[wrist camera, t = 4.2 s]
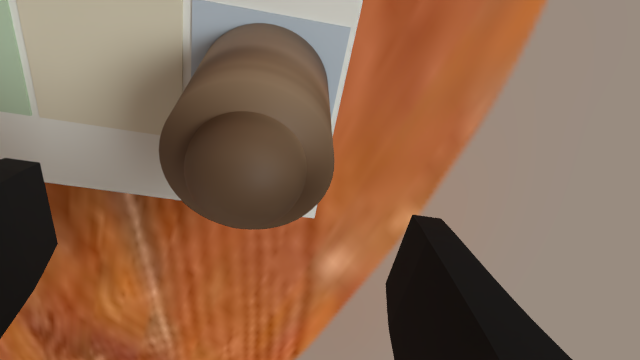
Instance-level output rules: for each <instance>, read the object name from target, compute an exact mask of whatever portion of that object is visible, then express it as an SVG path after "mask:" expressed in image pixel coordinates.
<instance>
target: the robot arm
mask: <svg viewBox="0 0 640 360" xmlns="http://www.w3.org/2000/svg"><path fill="white" fill-rule="evenodd" d="M57 244H58V243H57V238H56V234H55V229H54V225H53V220H52V215H51V211H50V206H49V202H48V197H47V193H46V188H45V183H44V179H43V174H42V170H41V165H40V163H39V162H32V161H25V160H18V159H11V158H3V159H0V338H1V337H2V335H3V334H4V333H5V331H6V330H7V328H8V327H9V325H10V324H11V323H12V321H13V320H14V318H15V317H16V315H17V314H18V312H19V311H20V310H21V308H22V307H23V305H24V304H25V302H26V301H27V299H28V298H29V296H30V295H31V293H32V292H33V290H34V289H35V287H36V285H37V283H38V281H39V279H40V278H41V276H42V274H43V272H44V270H45V268H46V266H47V264H48V262H49V260H50V258H51V256H52V254H53V252H54V250H55V248H56V246H57ZM386 297H387V313H388V325H389V333H390V338H391V344H392V349H393V354H394V360H572V359H571V358H570V357H569V356H568V355H567V354H566V353H565V352H564V351H563V350H562V349H561V348H560V347H559V346H558V345H557V344H556V343H555V342H554V341H553V340H552V339H551V338H550V337H549V336H548V335H547V334H546V333H545V332H544V331H543V330H542V329H541V328H540V327H539V326H538V325H537V324H536V323H535V322H534V321H533V320H532V319H531V318H530V317H529V316H528V315H527V314H526V312H525V311H524V310H523V309H522V308H521V307H520V306H519V305H518V304H517V303H516V302H515V301H514V300H513V299H512V297H510V295H509V294H508V293H507V292H506V291H505V290H504V289H503V288H502V287H501V285H500V284H499V283H498V282H497V281H496V280H495V279H494V278H493V277H492V275H491V274H490V273H489V272H488V271H487V270H486V269H485V267H484V266H483V265H482V264H481V263H480V262H479V261H478V259H477V258H476V257H475V256H474V255H473V254H472V253H471V251H470V250H469V249H468V248H467V247H466V246H465V245H464V243H463V242H462V241H461V240H460V239H459V238H458V237H457V235H456V234H455V233H454V232H453V231H452V230H451V229H450V228H449V227H448V226H447V224H445V222H444V221H443V220H442V219H439V218H432V217H425V216H418V215H412V217H411V220H410V222H409V225H408V227H407V230H406V232H405V235H404V238H403V240H402V243H401V245H400V248H399V251H398V253H397V256H396V258H395V261H394V263H393V266H392V269H391V271H390V274H389V276H388V279H387V282H386Z"/></svg>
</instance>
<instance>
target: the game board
mask: <svg viewBox="0 0 640 360" xmlns="http://www.w3.org/2000/svg"><path fill="white" fill-rule="evenodd" d="M362 2H363V0H0V159H3V158H11V159H18V160H25V161H32V162H39V163H40V165H41V170H42V174H43V179H44V182H47V183H55V184H62V185H69V186H77V187H84V188H92V189H99V190H107V191H114V192H122V193H129V194H137V195H144V196H152V197H159V198H167V199H174V200H181V199H180V198H179V197H178V196H177V195H176V194H175V192H174V191H173V190H172V188H171V187H170V185H169V184H168V182H167V180H166V178H165V176H164V173H163V171H162V168H161V164H160V159H159V140H160V136H161V132H162V129H163V126H164V124H165V122H166V120H167V118H168V117H169V115H170V113H171V111H172V110H173V108H174V106H175V105H176V103H177V101H178V100H179V98H180V96H181V95H182V93H183V91H184V90H185V88H186V86H187V85H188V83H189V81H190V80H191V78H192V76H193V75H194V73H195V71H196V70H197V68H198V66H199V65H200V63H201V61H202V60H203V58H204V56H205V55H206V53H207V51H208V50H209V48H210V47H211V45H212V44H213V43H214V42H215V41H216V40H217V39H218V38H219V37H220V36H222V35H223V34H225V33H226V32H228V31H229V30H231V29H234V28H236V27H239V26H242V25H246V24H253V23H266V24H274V25H277V26H281V27H284V28H286V29H289V30H291V31H293V32H294V33H296V34H298V35H299V36H301V37H302V38H303V39H305V40H306V41H307V42H308V43H309V44H310V45H311V46H312V47H313V48H314V50H315V51H316V52H317V54H318V55H319V57H320V59H321V61H322V63H323V65H324V68H325V71H326V74H327V80H328V90H329V102H330V114H331V126H332V136H333V132H334V128H335V123H336V119H337V114H338V110H339V105H340V101H341V96H342V92H343V87H344V83H345V78H346V74H347V69H348V65H349V61H350V56H351V52H352V47H353V43H354V38H355V34H356V29H357V25H358V20H359V16H360V11H361V7H362ZM316 208H317V205H316V206H315V207H314V208H313V209H312V210H311V211H309V212H308V213H307V214H305V215H304V216H302V217H309V218H314V217H315V212H316Z"/></svg>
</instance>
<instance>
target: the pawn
mask: <svg viewBox="0 0 640 360" xmlns="http://www.w3.org/2000/svg"><path fill="white" fill-rule="evenodd" d="M159 159H160V164H161V168H162V171H163V173H164V176H165V178H166V180H167V182H168V184H169V185H170V187H171V188H172V190H173V191H174V192H175V194H176V195H177V196H178V197H179V198H180V199H181V200H182V201H183V202H184V203H185V204H186V205H187V206H188V207H190V208H191V209H192V210H194V211H195V212H197V213H198V214H200V215H202V216H203V217H205V218H207V219H209V220H212V221H214V222H217V223H219V224H222V225H225V226H229V227H232V228H239V229H267V228H273V227H278V226H282V225H285V224H288V223H290V222H292V221H295V220H297V219H299V218H300V217H302V216H304V215H305V214H307V213H308V212H309V211H311V210H312V209H313V208H314V207H315V206H316V205H317V204H318V203H319V202H320V200H321V199H322V198H323V196H324V195H325V193H326V192H327V190H328V188H329V186H330V183H331V180H332V176H333V171H334V150H333V138H332V126H331V114H330V102H329V90H328V80H327V74H326V71H325V68H324V65H323V63H322V61H321V59H320V57H319V55H318V54H317V52H316V51H315V50H314V48H313V47H312V46H311V45H310V44H309V43H308V42H307V41H306V40H305V39H303V38H302V37H301V36H299V35H298V34H296V33H294V32H293V31H291V30H289V29H286V28H284V27H281V26H277V25H274V24H266V23H253V24H246V25H242V26H239V27H236V28H234V29H231V30H229V31H228V32H226V33H225V34H223V35H222V36H220V37H219V38H218V39H217V40H216V41H215V42H214V43H213V44H212V45H211V47H210V48H209V50H208V51H207V53H206V55H205V56H204V58H203V60H202V61H201V63H200V65H199V66H198V68H197V70H196V71H195V73H194V75H193V76H192V78H191V80H190V81H189V83H188V85H187V86H186V88H185V90H184V91H183V93H182V95H181V96H180V98H179V100H178V101H177V103H176V105H175V106H174V108H173V110H172V111H171V113H170V115H169V117H168V118H167V120H166V122H165V124H164V126H163V129H162V132H161V136H160V140H159Z"/></svg>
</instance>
